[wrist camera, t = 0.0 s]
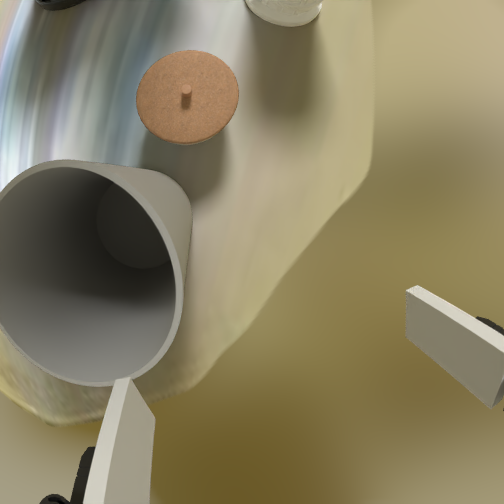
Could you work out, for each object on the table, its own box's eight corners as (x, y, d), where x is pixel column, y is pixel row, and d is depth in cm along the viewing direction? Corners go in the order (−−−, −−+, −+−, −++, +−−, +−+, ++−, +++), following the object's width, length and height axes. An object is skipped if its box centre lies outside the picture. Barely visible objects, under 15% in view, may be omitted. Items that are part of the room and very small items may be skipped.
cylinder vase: (136, 150, 34) (40, 112, 10) (212, 209, 38) (236, 264, 14) (84, 228, 35) (-37, 299, 11) (156, 283, 39) (114, 417, 15)
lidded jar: (248, 108, 35) (263, 88, 26) (190, 167, 36) (187, 164, 27) (189, 58, 32) (188, 26, 23) (130, 115, 33) (111, 97, 24)
